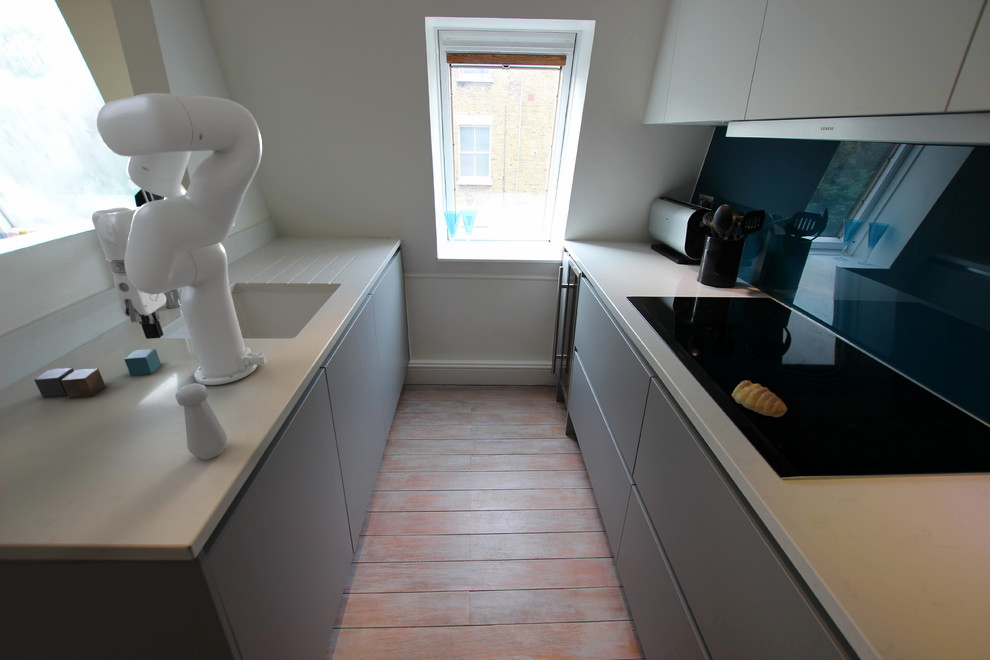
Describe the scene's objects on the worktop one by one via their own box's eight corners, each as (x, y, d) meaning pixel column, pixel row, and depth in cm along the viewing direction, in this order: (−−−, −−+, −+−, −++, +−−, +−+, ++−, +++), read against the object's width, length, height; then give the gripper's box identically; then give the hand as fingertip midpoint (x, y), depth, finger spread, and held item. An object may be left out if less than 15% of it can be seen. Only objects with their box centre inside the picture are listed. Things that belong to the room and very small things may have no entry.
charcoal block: (80, 385, 98) (72, 367, 96) (66, 395, 94) (57, 377, 92) (58, 386, 97) (49, 369, 95) (42, 397, 93) (33, 379, 91)
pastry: (792, 412, 87) (797, 396, 85) (772, 423, 84) (778, 406, 82) (746, 390, 94) (750, 375, 92) (726, 400, 91) (730, 384, 89)
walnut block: (105, 385, 97) (98, 368, 96) (92, 396, 93) (84, 378, 92) (83, 387, 97) (75, 369, 95) (69, 398, 93) (60, 380, 91)
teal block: (161, 365, 106) (155, 348, 104) (151, 374, 102) (145, 357, 100) (141, 366, 105) (135, 350, 103) (130, 375, 101) (123, 358, 99)
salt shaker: (212, 465, 74) (189, 399, 68) (183, 461, 75) (158, 395, 69) (237, 443, 79) (218, 380, 74) (210, 439, 80) (189, 377, 75)
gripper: (129, 273, 95) (156, 349, 102) (164, 255, 108) (186, 324, 116) (90, 274, 93) (119, 352, 101) (130, 256, 107) (154, 325, 114)
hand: (155, 336), depth 108 cm, fingers closed
